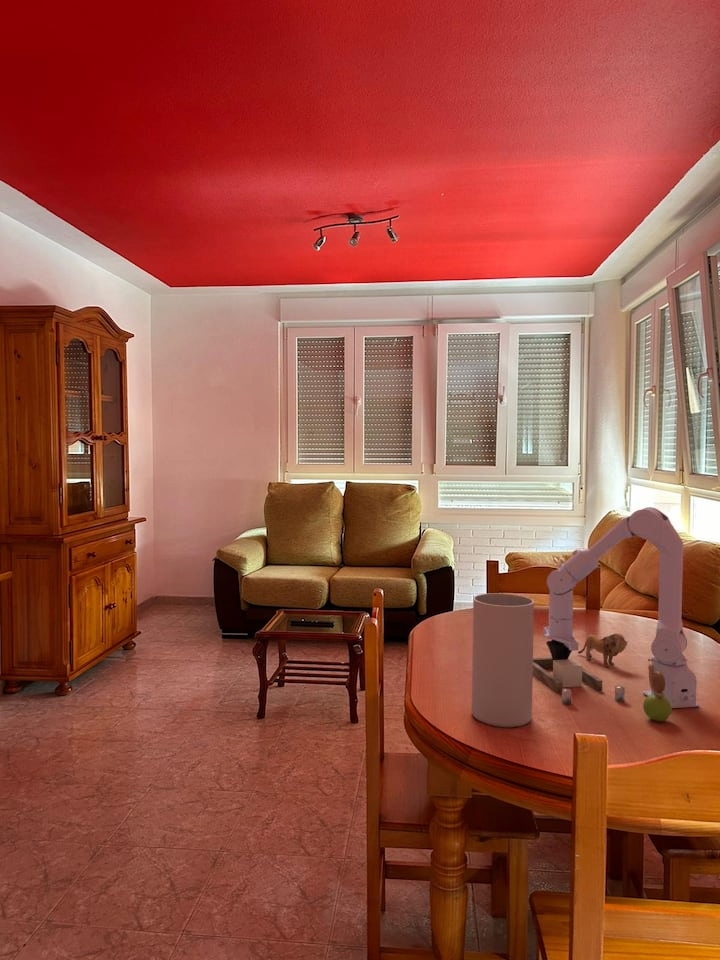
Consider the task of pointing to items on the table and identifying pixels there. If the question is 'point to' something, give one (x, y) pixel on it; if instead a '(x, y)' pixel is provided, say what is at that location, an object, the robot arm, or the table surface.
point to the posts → (567, 692)
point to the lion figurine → (605, 646)
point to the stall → (556, 684)
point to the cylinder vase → (502, 659)
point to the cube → (568, 672)
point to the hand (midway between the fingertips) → (559, 670)
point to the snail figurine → (657, 697)
